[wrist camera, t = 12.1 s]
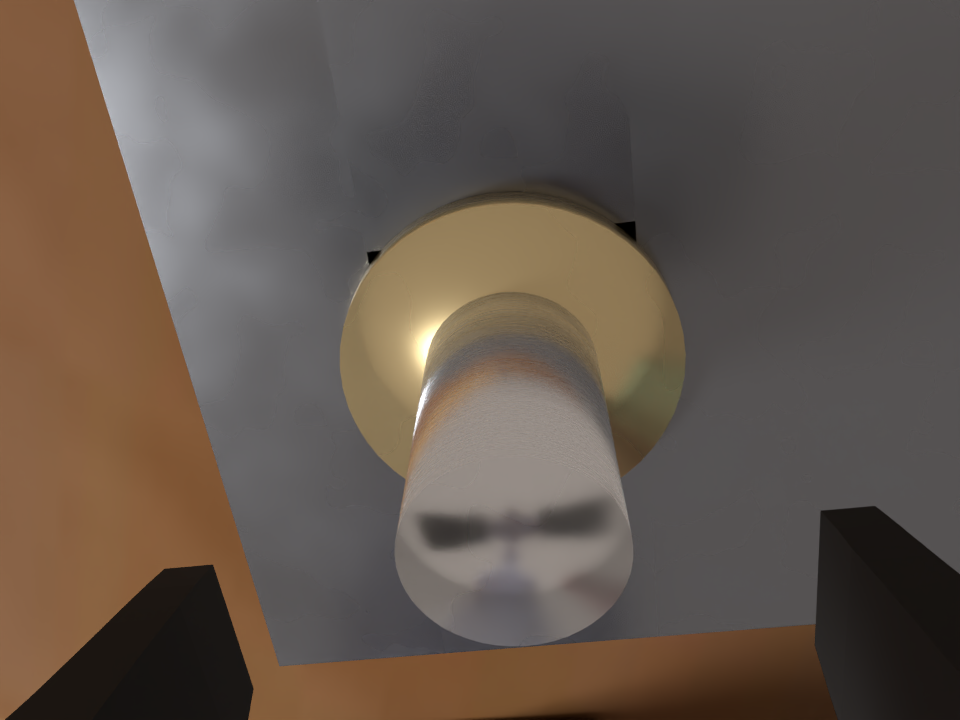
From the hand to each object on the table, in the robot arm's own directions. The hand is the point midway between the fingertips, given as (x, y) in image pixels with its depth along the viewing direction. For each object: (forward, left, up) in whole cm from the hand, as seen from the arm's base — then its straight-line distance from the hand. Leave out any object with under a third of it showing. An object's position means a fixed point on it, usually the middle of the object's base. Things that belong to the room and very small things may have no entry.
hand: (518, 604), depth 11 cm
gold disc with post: (0, 0, -9) cm, 9 cm away
